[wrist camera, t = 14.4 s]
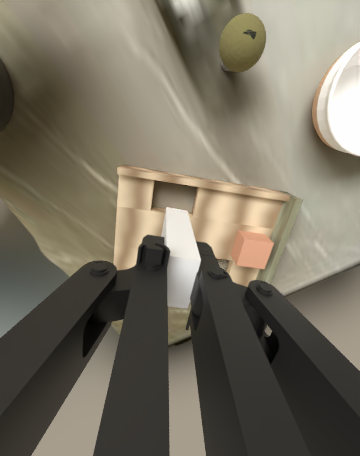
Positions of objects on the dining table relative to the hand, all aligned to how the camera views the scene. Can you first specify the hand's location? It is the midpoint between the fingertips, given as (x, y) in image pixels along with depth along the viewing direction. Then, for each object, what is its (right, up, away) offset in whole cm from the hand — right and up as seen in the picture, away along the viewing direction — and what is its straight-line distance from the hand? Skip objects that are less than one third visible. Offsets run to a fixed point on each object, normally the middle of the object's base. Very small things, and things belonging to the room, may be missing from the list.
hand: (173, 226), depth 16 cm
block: (+14, -3, +28) cm, 31 cm away
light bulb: (+8, +26, +18) cm, 33 cm away
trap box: (+3, -1, +29) cm, 29 cm away
